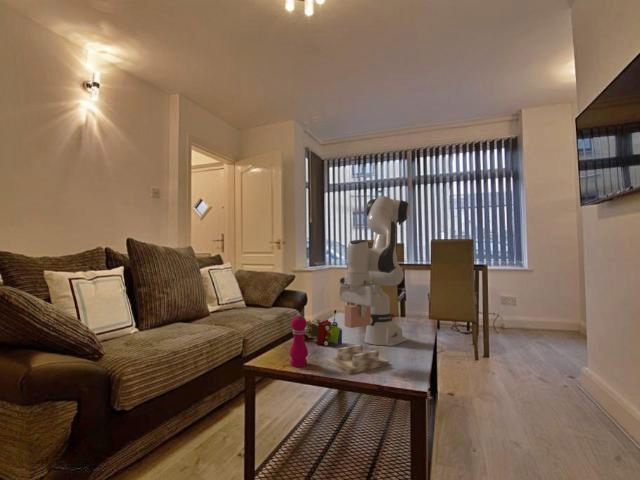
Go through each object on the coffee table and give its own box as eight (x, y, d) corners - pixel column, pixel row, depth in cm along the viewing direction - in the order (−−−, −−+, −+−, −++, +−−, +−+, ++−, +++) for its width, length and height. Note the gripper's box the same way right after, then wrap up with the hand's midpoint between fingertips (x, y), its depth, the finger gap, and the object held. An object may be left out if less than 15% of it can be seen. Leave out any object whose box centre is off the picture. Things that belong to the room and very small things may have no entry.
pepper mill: (305, 368, 124) (305, 314, 125) (287, 366, 125) (287, 314, 126) (309, 362, 131) (310, 311, 132) (292, 360, 132) (292, 311, 133)
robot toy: (336, 350, 150) (299, 340, 159) (344, 345, 158) (309, 336, 167) (340, 313, 150) (302, 306, 159) (348, 310, 158) (312, 303, 167)
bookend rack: (365, 355, 140) (365, 342, 140) (388, 364, 129) (388, 350, 129) (326, 363, 129) (326, 349, 130) (348, 374, 118) (348, 358, 118)
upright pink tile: (363, 323, 134) (364, 303, 134) (370, 325, 131) (370, 305, 131) (344, 326, 129) (344, 305, 129) (351, 328, 125) (351, 307, 125)
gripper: (382, 281, 123) (382, 318, 123) (348, 278, 141) (348, 310, 140) (369, 282, 120) (369, 320, 119) (336, 278, 137) (336, 312, 136)
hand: (357, 315), depth 130 cm, fingers closed on upright pink tile, 4 cm apart
